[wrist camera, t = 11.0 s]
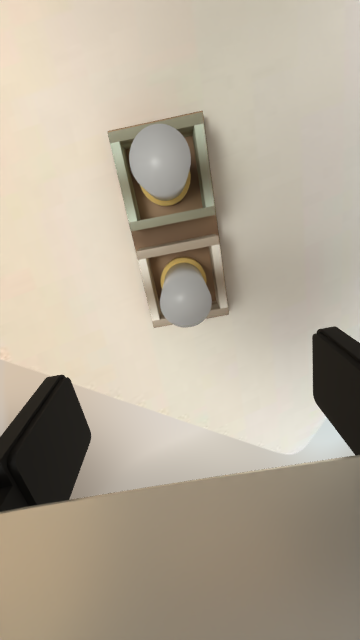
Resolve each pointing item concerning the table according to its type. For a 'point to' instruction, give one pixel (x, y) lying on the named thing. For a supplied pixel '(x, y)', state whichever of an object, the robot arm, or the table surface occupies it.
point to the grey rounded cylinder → (184, 292)
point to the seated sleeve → (161, 164)
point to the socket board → (173, 217)
